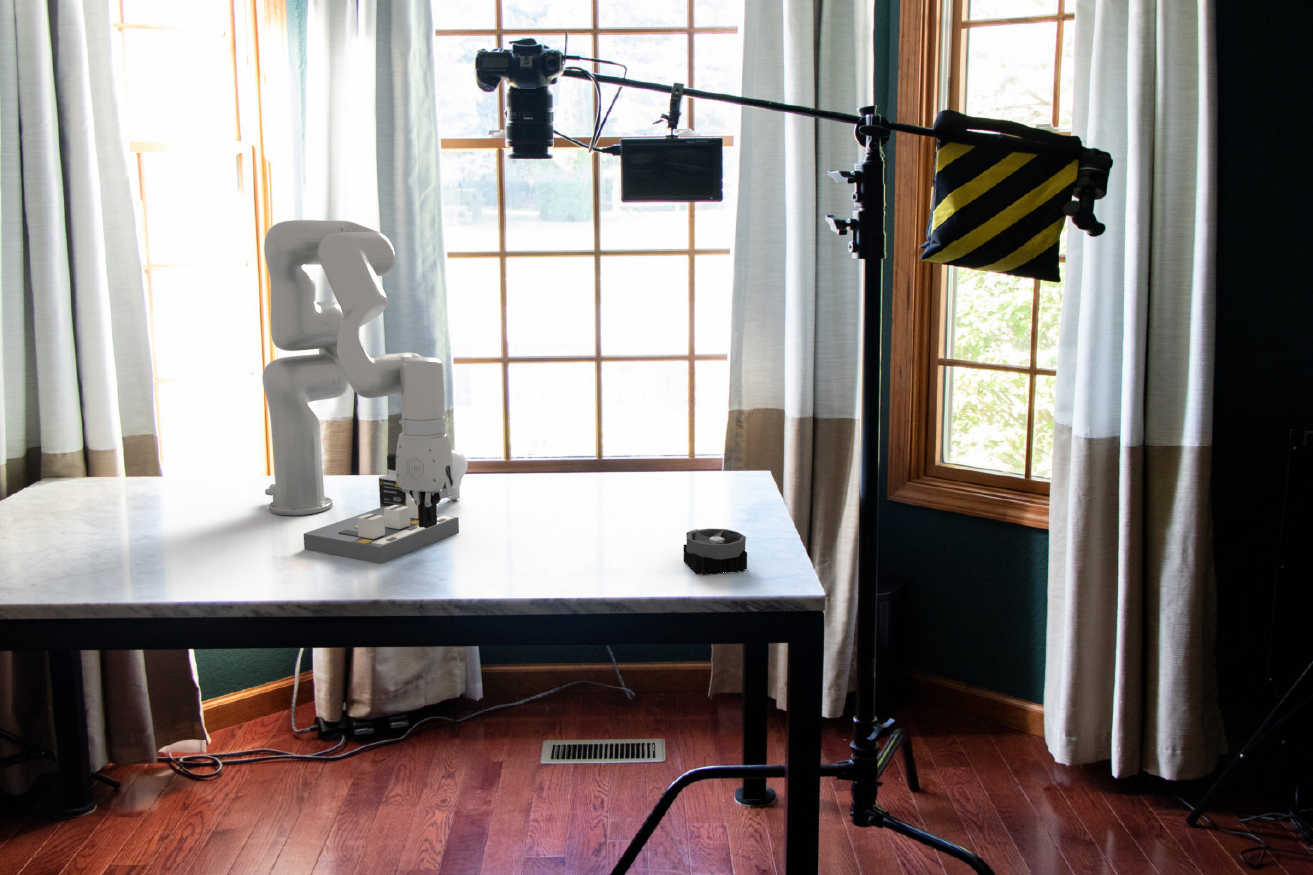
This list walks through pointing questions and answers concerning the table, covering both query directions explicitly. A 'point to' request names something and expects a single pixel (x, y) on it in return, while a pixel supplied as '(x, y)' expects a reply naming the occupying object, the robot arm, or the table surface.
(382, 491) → the medicine bottle
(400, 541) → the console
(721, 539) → the cpu cooler
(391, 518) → the switch
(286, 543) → the table surface
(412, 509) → the switch
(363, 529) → the switch
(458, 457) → the lightbulb
